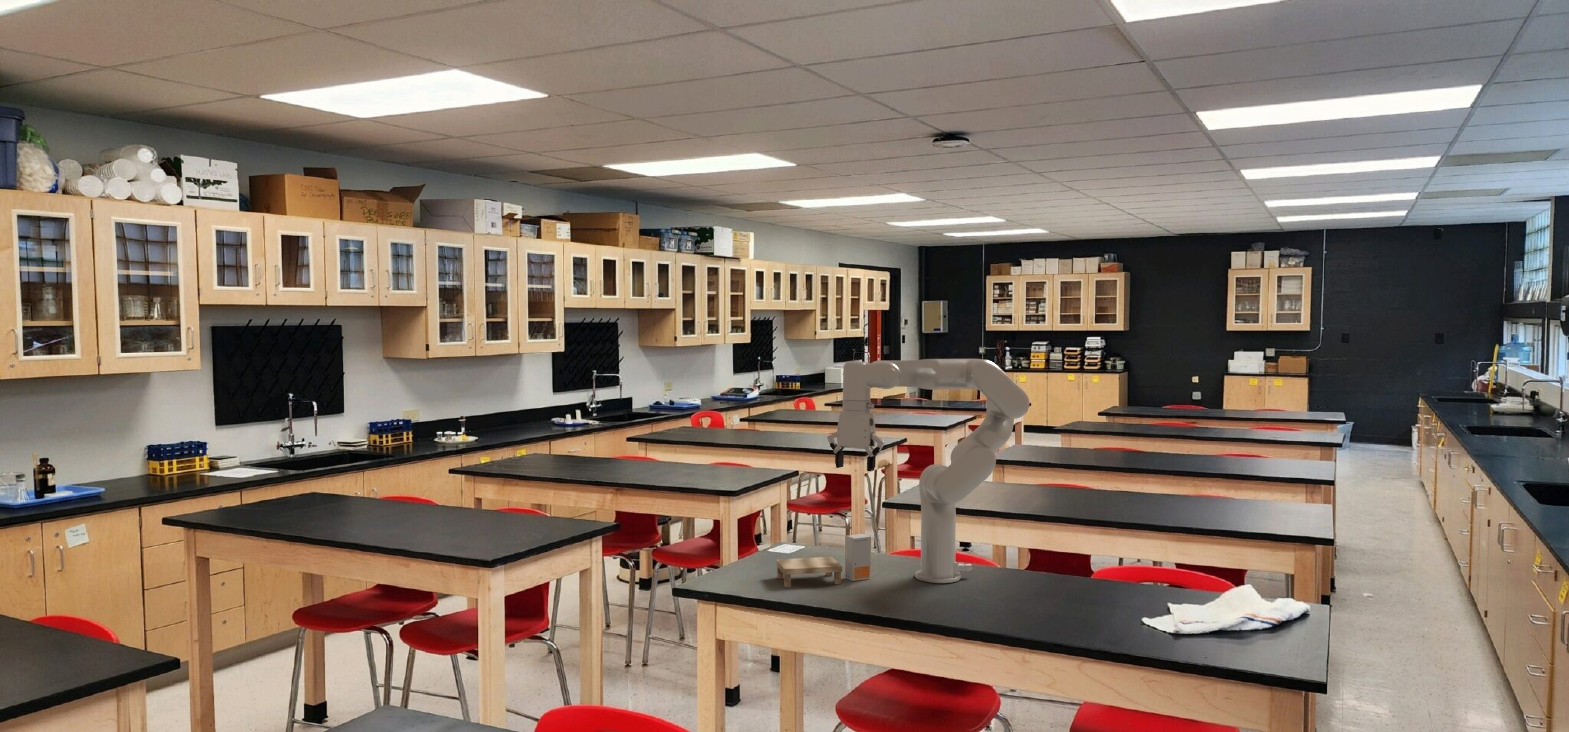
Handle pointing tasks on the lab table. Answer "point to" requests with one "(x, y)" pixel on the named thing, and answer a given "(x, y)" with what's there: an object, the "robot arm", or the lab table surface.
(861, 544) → the skincare box
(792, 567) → the birch stool
